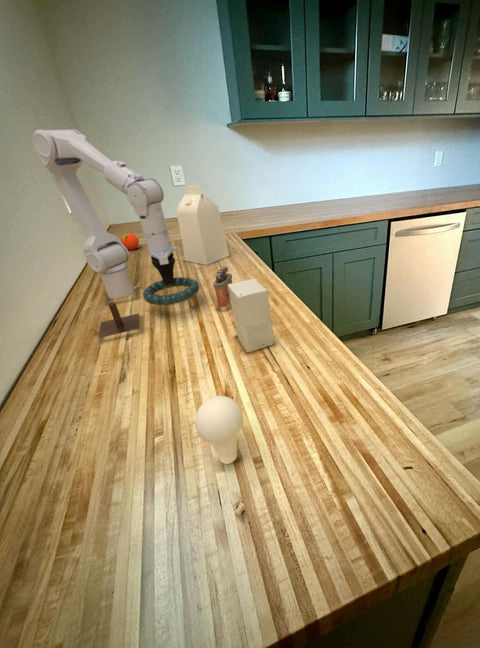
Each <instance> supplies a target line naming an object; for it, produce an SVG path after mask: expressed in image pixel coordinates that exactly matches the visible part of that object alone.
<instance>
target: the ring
mask: <svg viewBox="0 0 480 648" xmlns="http://www.w3.org/2000/svg"><path fill="white" fill-rule="evenodd" d="M174 287H187V288H186V289H185V290H184V289H183V290H182V291H179V292H176V293H171V294H165V295H164V294H162V295H160V294H156V293H158V292H160V291H163V290H166V289H170V288H174ZM199 290H200V284H199V283H198V281H197V280H195V279H194V278H190V277H183V276H181V277H180V276H179V277H174V284H170V285H166V284H165V283H164V281H163V279H162V280H159V281H155V282H153V283H152V284H150V285H147V287H146V288H145V289H144V290H143V293H142V297H143V300H144V301H145V302H146V303H148V304H150V305H154V306H170V305H176V304H180V303H183V302H186V301H188V300H190V299H192V298H193V297H195V296H196V295H198V292H199Z"/></svg>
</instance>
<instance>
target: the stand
mask: <svg viewBox="0 0 480 648" xmlns="http://www.w3.org/2000/svg"><path fill="white" fill-rule="evenodd" d="M107 305H108V309H109V311H110V314H111V316H112V319H108V320H104V321H101V322H100V327H99V332H98V333H99V334H98V339H102V338H106V337H111V336H115V335H119V334H123V333H126V332H127V333H128V332H132V331H135V330H140V313H135V314H131V315H126V316H121V314H120V311H119V308H118V305H117V302H115V301H111V302H109V303H107Z"/></svg>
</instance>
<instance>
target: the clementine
mask: <svg viewBox="0 0 480 648" xmlns="http://www.w3.org/2000/svg"><path fill="white" fill-rule="evenodd" d="M120 242H121V243H122V244H123V245H124V246H125V247H126V249H127V250H128V251H133V250H135V249H137V248H138V246H139V245H140V244H139V243H140V240H139V238H138V236H136V235H135V234H133V233H130V232H129V233H128V232H127V233H124V234H123V235H122V236H121V239H120Z"/></svg>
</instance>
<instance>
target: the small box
mask: <svg viewBox="0 0 480 648" xmlns="http://www.w3.org/2000/svg"><path fill="white" fill-rule="evenodd" d="M228 290H229V296H230V301H231V302H230V306H231V313H232V318H233V324H234V330H235V334H236V338H237V339H238V341H239V342H240V344H241V346H242V347H243V349H244V350H245V352H246V353H251V352H254V351H257V350H260V349H264V348H267V347H270V346H273V345H274V344H275V341H274V334H273V326H272V318H271V317H272V316H271V310H270V309H271V308H270V301H269V299H270V298H269V292H268V291H269V290H268V289H267V288H265V287H264V286H263V285H262V284H261V283H260V282H259V281H258V280H257V279H256V278H250V279H246V280H241V281H236V282H232V283H231V284H228Z"/></svg>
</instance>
